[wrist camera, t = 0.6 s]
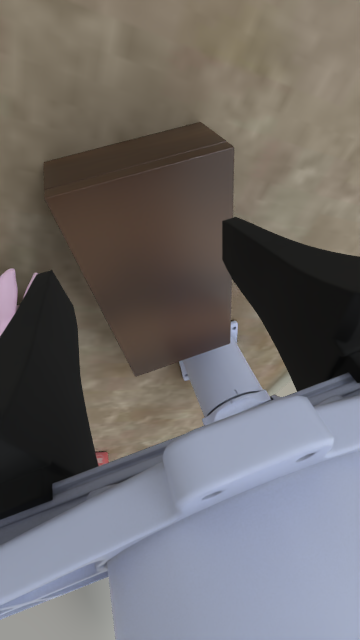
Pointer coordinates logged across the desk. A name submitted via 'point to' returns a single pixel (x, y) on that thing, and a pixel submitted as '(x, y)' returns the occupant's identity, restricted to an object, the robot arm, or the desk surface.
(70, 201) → the rack
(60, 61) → the desk surface
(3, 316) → the rabbit figure
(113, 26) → the desk surface
